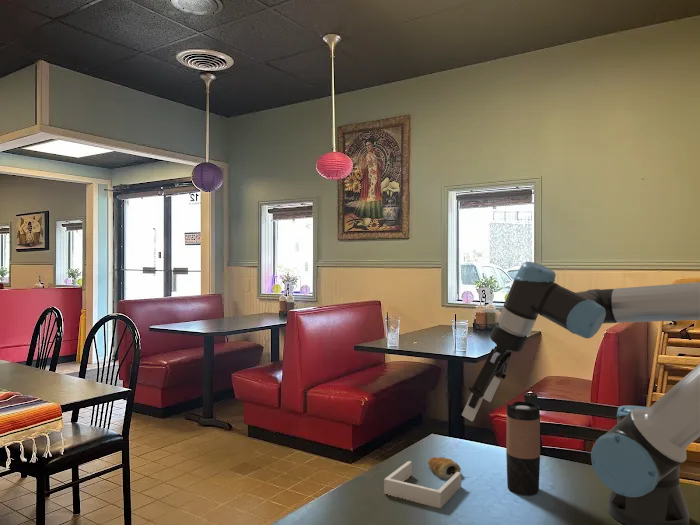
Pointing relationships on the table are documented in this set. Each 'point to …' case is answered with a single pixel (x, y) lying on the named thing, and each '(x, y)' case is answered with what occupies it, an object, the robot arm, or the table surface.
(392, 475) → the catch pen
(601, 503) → the table surface
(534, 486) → the travel mug
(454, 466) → the pastry
